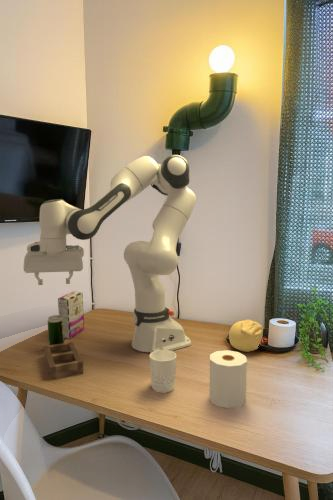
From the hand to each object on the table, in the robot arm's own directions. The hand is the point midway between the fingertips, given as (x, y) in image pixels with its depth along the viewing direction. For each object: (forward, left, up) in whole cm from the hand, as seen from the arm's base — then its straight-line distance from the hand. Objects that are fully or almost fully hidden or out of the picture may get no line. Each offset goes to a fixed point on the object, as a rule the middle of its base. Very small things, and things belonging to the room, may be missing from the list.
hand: (54, 284), depth 137 cm
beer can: (0, -1, -25) cm, 25 cm away
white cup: (-25, +41, -25) cm, 54 cm away
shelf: (0, +14, -25) cm, 28 cm away
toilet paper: (-39, +54, -25) cm, 71 cm away
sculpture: (-64, +27, -25) cm, 74 cm away
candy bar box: (-8, -14, -25) cm, 30 cm away
